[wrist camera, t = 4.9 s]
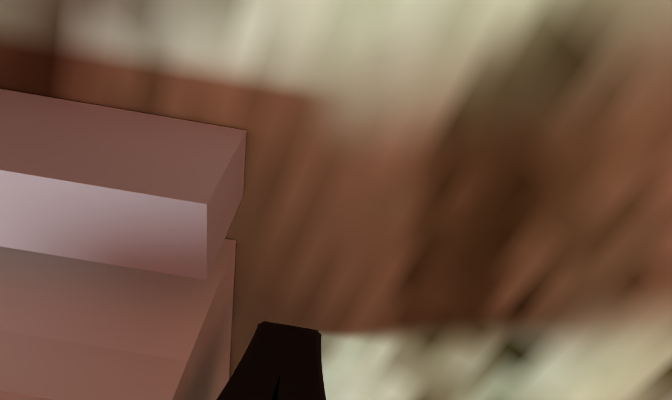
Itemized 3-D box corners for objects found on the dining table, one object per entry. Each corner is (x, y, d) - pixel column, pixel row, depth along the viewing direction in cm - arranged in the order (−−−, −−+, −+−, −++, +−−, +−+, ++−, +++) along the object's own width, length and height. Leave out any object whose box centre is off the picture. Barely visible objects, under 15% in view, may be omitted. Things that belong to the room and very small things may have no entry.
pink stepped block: (236, 240, 11) (165, 417, 7) (228, 381, 13) (174, 560, 10) (-40, 193, 11) (-251, 349, 7) (9, 346, 13) (-123, 513, 10)
